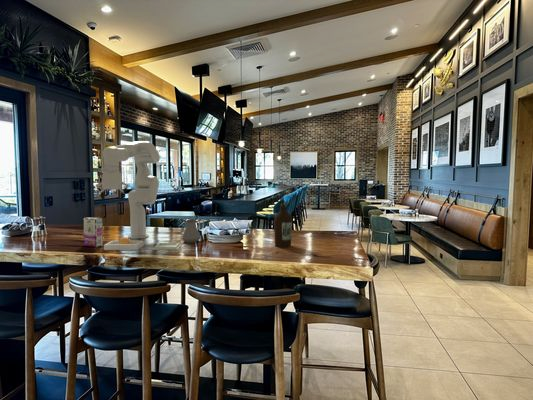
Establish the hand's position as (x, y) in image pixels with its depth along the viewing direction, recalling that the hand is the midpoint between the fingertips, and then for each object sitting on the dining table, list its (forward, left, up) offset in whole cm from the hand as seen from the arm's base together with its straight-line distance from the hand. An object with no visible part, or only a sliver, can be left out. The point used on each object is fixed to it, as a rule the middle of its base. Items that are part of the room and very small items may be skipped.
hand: (112, 199), depth 196 cm
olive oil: (+1, +97, -28) cm, 101 cm away
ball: (+1, +6, -28) cm, 28 cm away
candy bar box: (-6, -14, -28) cm, 32 cm away
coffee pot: (-20, +42, -28) cm, 54 cm away
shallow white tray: (+1, +6, -28) cm, 28 cm away
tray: (+1, +30, -28) cm, 41 cm away
